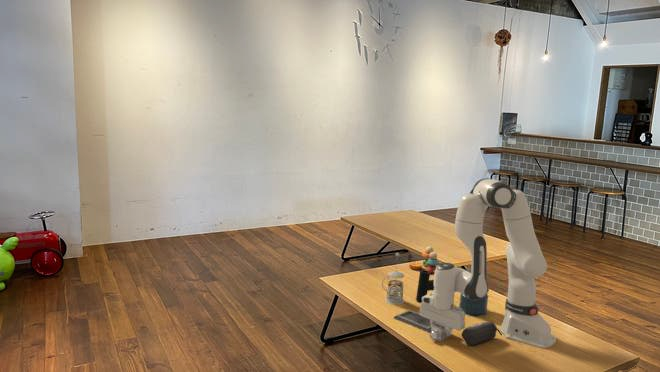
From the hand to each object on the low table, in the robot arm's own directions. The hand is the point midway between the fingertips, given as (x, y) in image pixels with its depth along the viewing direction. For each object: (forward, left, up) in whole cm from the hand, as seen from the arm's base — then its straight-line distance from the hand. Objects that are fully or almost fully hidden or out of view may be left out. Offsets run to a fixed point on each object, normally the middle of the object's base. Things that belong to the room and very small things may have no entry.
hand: (440, 332), depth 206 cm
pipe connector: (+28, -30, -3) cm, 41 cm away
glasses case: (-13, -9, -3) cm, 16 cm away
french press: (+38, -16, -2) cm, 41 cm away
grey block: (0, -1, -2) cm, 2 cm away
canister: (+5, -36, -2) cm, 36 cm away
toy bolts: (+56, -70, -3) cm, 90 cm away
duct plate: (+15, -5, -2) cm, 16 cm away
